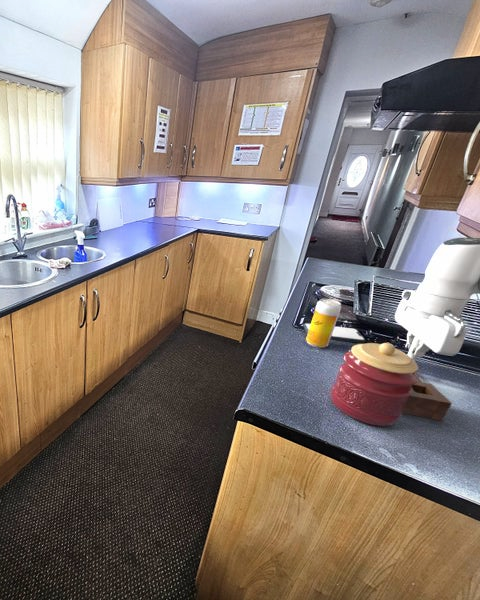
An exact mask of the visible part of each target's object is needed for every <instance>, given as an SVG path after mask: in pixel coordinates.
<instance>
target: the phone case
mask: <svg viewBox="0 0 480 600" xmlns="http://www.w3.org/2000/svg"><path fill="white" fill-rule="evenodd" d="M310 325H311V323H309V322H308V323H307V322H306V323H303V326H302V327H303V329H304V330H305V332H306V334H308V331H309V328H310ZM330 340H334V341H339V342H341V341H342V342H346V343H347V342H348V343H355V344H366V343H365V342H366V338H365V337H364V336H363V335H362V334H361V333H360V332H359V330H358V329H356V328H352V327H345V326H343V327H342V326H335V327H334V330H333V333H332V336H331V339H330Z"/></svg>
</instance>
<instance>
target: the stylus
mask: <svg viewBox="0 0 480 600" xmlns="http://www.w3.org/2000/svg"><path fill="white" fill-rule="evenodd" d="M419 342H420V340H419V339H418V338H416V337H415V338H414V340H413V342H412V345H411V347H410V350H408V352H407V353H406V354H407V355H408V356H409V357H410V358H411V359H412V360H414V361H415V362H416V360H417V358H418V357H417V356H415V355H414V354H413V353H412V351H413V349H414V348H417V347H418V346H419V345H420V344H419Z"/></svg>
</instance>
